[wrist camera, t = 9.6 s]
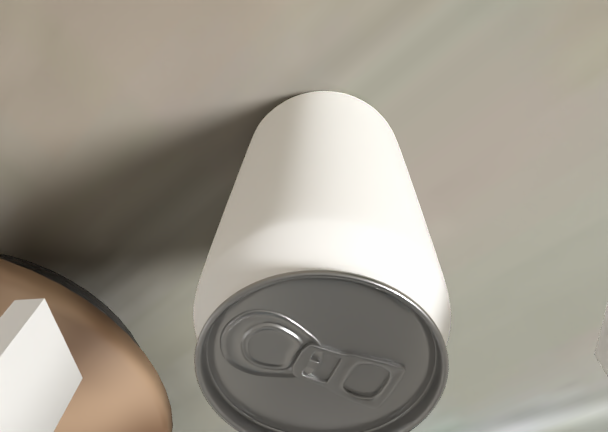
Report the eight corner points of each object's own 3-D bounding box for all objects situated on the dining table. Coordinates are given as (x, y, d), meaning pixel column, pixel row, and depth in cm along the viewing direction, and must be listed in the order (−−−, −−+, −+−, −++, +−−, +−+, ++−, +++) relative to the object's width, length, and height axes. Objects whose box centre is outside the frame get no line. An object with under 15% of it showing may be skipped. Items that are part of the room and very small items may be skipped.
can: (280, 61, 19) (225, 206, 9) (426, 123, 20) (532, 320, 10) (229, 196, 22) (143, 422, 12) (359, 244, 23) (384, 493, 13)
